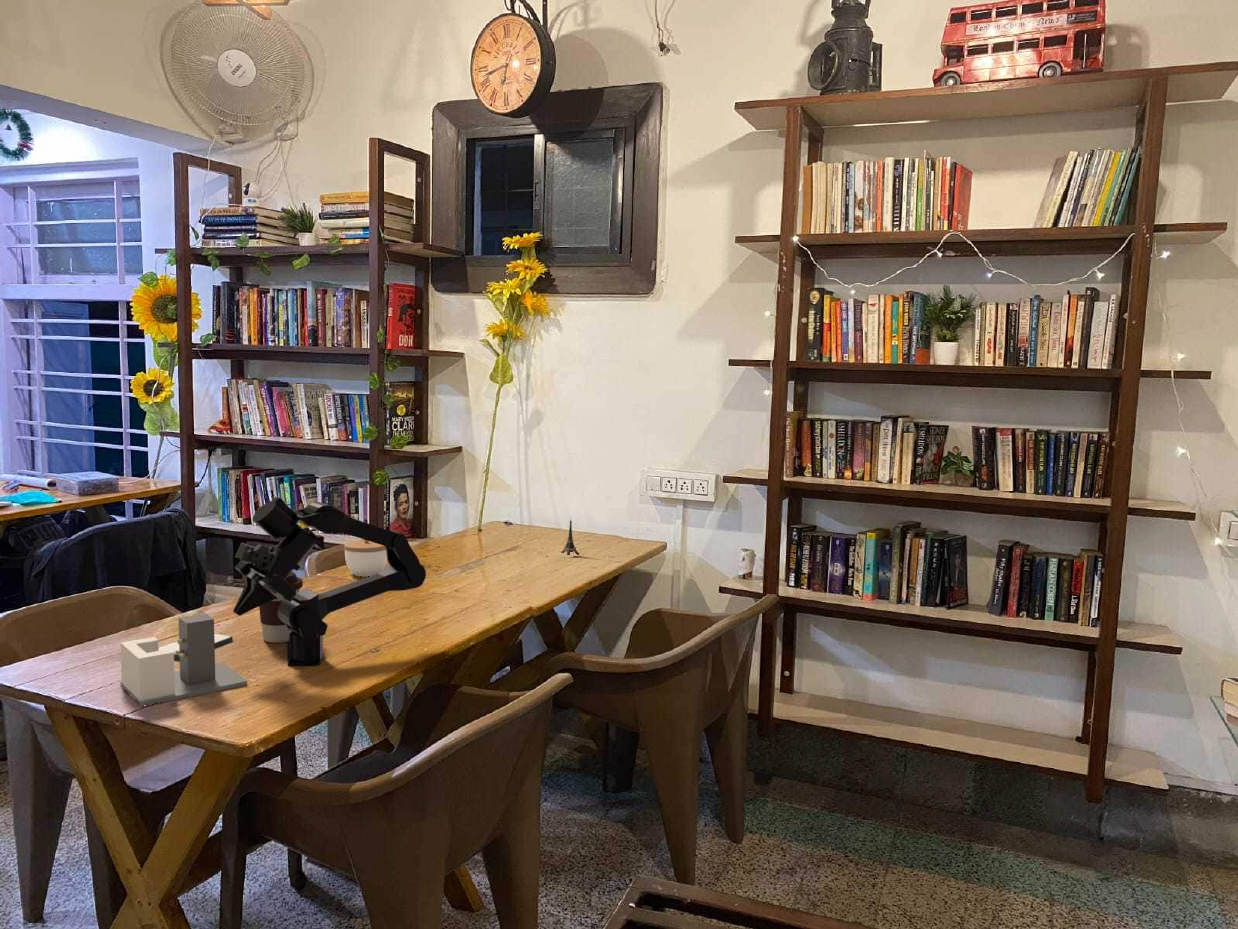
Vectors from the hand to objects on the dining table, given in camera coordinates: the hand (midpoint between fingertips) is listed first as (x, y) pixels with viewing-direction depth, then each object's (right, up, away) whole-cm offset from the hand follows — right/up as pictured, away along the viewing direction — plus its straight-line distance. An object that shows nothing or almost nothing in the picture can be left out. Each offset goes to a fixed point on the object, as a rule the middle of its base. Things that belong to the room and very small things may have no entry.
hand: (236, 613), depth 188 cm
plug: (-6, -12, -4) cm, 14 cm away
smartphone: (-17, -11, +18) cm, 27 cm away
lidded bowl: (+2, -3, +90) cm, 90 cm away
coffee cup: (0, -10, +26) cm, 28 cm away
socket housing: (-8, -13, -5) cm, 16 cm away
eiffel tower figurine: (+60, -1, +124) cm, 138 cm away
